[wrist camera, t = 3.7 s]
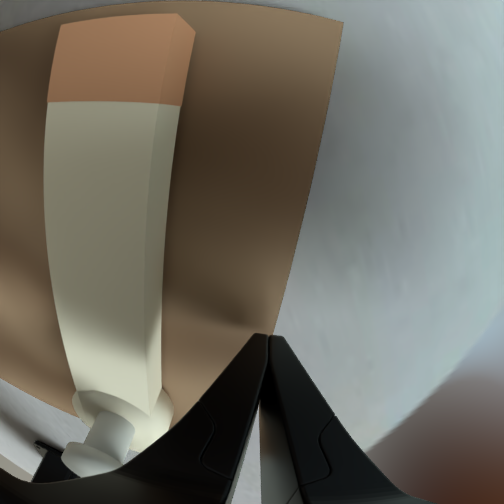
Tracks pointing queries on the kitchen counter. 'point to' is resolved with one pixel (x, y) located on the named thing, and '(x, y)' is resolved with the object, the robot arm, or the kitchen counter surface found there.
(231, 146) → the base plate
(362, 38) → the kitchen counter surface
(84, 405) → the bar
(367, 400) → the kitchen counter surface
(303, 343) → the kitchen counter surface
